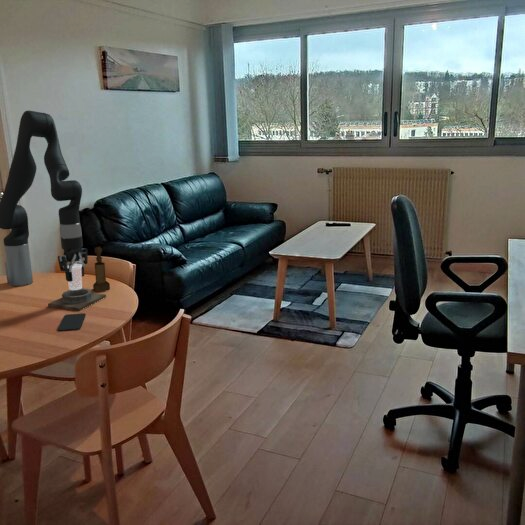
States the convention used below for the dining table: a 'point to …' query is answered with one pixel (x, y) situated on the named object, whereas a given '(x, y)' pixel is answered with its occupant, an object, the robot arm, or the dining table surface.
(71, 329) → the phone
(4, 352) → the dining table surface
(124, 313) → the dining table surface
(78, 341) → the dining table surface
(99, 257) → the pepper mill
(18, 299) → the dining table surface
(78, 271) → the beverage cup
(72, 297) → the ring holder
